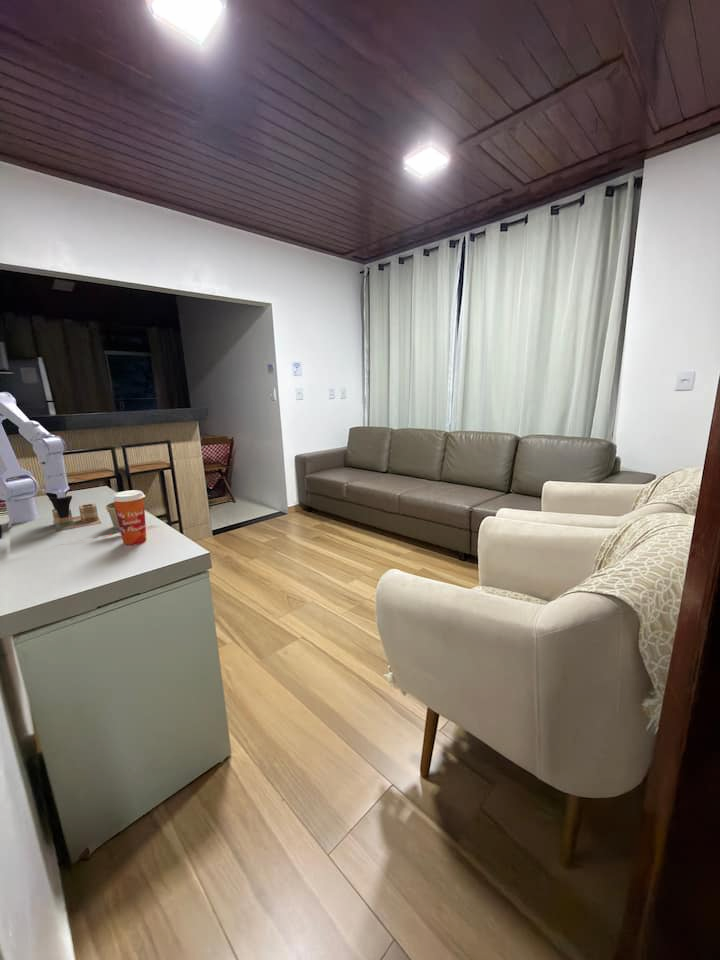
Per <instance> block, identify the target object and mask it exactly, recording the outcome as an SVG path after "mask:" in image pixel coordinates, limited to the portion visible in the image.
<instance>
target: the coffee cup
mask: <svg viewBox="0 0 720 960" xmlns="http://www.w3.org/2000/svg"><path fill="white" fill-rule="evenodd" d="M145 497H146V495H145V494H144V492H143V491H142V490H137V489H133V490H125V491H124V490H123V491H118V492H116V493H114V495H113V497H112V498H111V500H112V502H114V505H115V510H116V514H117V518H118V522H119V527H120V529H119V532H120V531H121V532H120V535H121V539H122V542H123V545H125V544H126V545H125V546H135V545H134V544H136V545H139V543H140V544H142V543H144V542H146V541H147V527H146V512H145ZM145 540H146V541H145Z"/></svg>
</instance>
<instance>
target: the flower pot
mask: <svg viewBox="0 0 720 960" xmlns="http://www.w3.org/2000/svg"><path fill="white" fill-rule="evenodd" d="M104 508H105V509H106V511H107V513H108V514H109V517H110V520H111V523H112V526H113V528H114V529H115V530H119V533H121V531H120V527H119V522H118V518H117V514H116V510H115V505H114V501H112V502H110V503H107V504H105V506H104Z"/></svg>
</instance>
